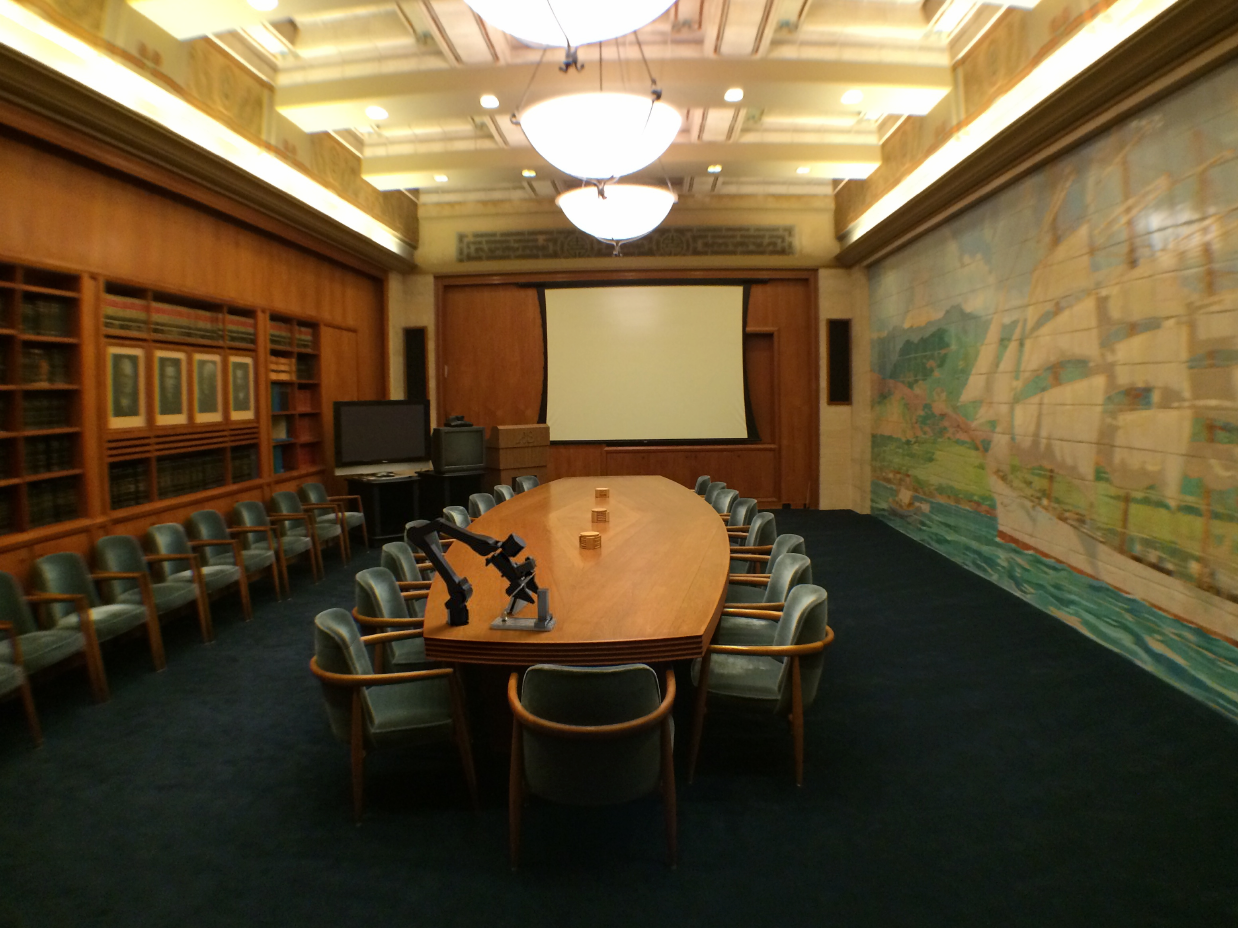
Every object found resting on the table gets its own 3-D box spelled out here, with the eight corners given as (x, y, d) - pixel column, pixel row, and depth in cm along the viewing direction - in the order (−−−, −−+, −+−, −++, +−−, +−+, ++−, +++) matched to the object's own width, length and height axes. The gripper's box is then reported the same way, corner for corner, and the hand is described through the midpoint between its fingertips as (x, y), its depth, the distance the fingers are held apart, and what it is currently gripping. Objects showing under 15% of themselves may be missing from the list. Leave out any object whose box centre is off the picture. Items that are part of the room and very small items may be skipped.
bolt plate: (491, 628, 237) (490, 615, 236) (498, 620, 245) (497, 608, 244) (550, 630, 234) (550, 617, 233) (556, 622, 242) (556, 610, 241)
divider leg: (534, 628, 233) (533, 593, 232) (541, 618, 244) (540, 585, 242) (545, 628, 233) (544, 594, 232) (552, 618, 243) (552, 585, 242)
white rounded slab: (517, 600, 268) (525, 576, 267) (528, 604, 268) (536, 581, 266) (501, 613, 252) (509, 589, 250) (513, 618, 251) (521, 594, 250)
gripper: (514, 557, 227) (547, 591, 227) (529, 544, 246) (560, 576, 245) (491, 579, 229) (524, 613, 229) (508, 565, 248) (538, 597, 247)
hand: (537, 599), depth 238 cm, fingers open, 9 cm apart
